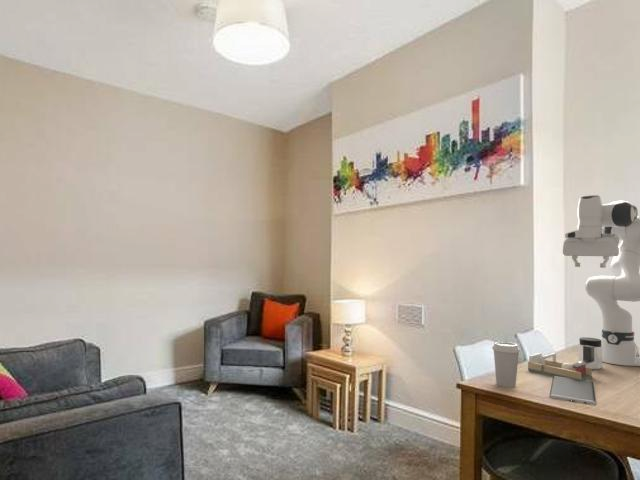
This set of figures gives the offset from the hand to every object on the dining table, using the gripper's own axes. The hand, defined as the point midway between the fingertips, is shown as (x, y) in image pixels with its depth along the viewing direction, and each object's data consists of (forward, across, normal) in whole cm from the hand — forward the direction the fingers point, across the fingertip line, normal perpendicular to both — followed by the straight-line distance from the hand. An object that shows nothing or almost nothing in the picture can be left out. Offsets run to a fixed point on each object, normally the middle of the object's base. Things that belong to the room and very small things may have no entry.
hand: (589, 267), depth 181 cm
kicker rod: (+42, -1, +10) cm, 43 cm away
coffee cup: (+44, +12, +44) cm, 63 cm away
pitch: (+43, +7, +12) cm, 46 cm away
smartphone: (+44, -6, +31) cm, 54 cm away
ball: (+40, +4, +12) cm, 42 cm away
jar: (+44, +4, -12) cm, 45 cm away
